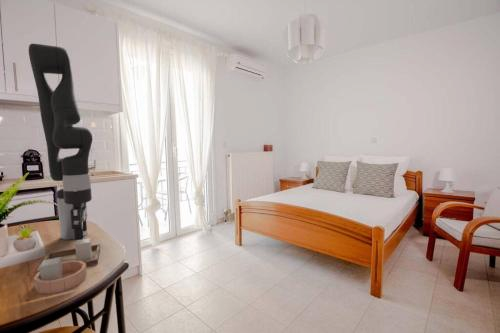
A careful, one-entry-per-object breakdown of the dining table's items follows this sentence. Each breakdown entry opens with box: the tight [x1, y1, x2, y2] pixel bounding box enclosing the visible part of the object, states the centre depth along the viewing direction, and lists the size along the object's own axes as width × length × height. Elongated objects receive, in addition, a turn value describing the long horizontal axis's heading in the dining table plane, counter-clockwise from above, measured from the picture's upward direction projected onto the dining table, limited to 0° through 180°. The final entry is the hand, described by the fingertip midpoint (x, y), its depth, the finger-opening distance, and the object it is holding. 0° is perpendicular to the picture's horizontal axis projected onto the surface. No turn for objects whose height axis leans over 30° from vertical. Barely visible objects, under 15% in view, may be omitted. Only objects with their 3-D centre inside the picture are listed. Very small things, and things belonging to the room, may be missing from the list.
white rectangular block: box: [74, 237, 92, 261], centre depth 85 cm, size 4×4×6 cm
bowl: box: [33, 260, 88, 294], centre depth 71 cm, size 12×12×4 cm
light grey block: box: [39, 257, 63, 281], centre depth 70 cm, size 4×4×6 cm
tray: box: [35, 243, 101, 275], centre depth 83 cm, size 14×16×2 cm
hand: (81, 235), depth 83 cm, fingers open, 8 cm apart
